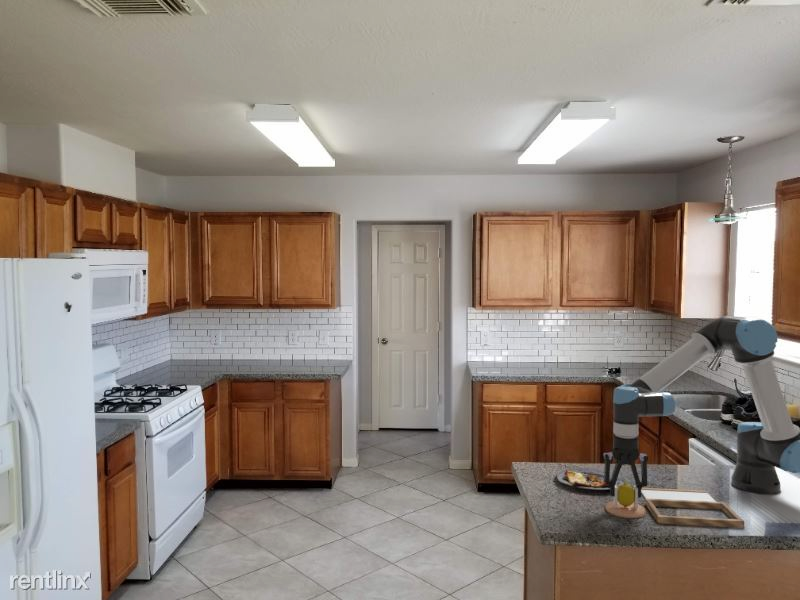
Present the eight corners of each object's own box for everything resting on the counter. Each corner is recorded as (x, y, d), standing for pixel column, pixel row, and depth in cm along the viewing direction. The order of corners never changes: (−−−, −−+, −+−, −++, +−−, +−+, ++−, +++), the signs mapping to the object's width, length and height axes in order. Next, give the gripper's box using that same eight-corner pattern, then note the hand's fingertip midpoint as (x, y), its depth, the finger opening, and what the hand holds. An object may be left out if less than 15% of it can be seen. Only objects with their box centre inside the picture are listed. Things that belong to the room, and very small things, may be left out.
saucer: (640, 504, 194) (640, 501, 194) (649, 519, 182) (649, 516, 182) (602, 502, 196) (602, 499, 196) (609, 517, 184) (609, 513, 184)
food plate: (629, 496, 201) (629, 486, 201) (559, 493, 206) (559, 483, 206) (617, 475, 226) (617, 466, 226) (555, 472, 231) (555, 463, 231)
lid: (705, 493, 204) (705, 490, 204) (719, 507, 191) (720, 504, 191) (639, 490, 208) (639, 487, 208) (648, 504, 195) (648, 501, 195)
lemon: (613, 504, 192) (613, 480, 191) (629, 504, 192) (629, 479, 192) (621, 511, 186) (621, 486, 186) (637, 510, 187) (638, 485, 186)
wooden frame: (723, 507, 191) (723, 501, 191) (744, 527, 176) (744, 521, 175) (644, 503, 195) (644, 497, 195) (658, 523, 179) (658, 516, 179)
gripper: (653, 433, 191) (652, 503, 191) (593, 431, 194) (593, 500, 194) (659, 439, 183) (658, 512, 184) (597, 437, 186) (597, 509, 187)
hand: (625, 506), depth 189 cm, fingers closed on lemon, 5 cm apart
